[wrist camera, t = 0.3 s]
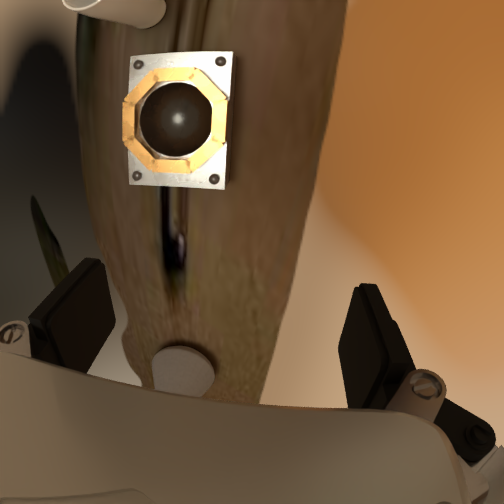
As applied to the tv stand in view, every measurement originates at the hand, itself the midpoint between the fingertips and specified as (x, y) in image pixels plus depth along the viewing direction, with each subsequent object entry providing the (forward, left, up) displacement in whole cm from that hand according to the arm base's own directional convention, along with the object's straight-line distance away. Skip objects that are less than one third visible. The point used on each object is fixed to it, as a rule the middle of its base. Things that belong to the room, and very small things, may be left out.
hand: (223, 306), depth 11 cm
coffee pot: (+41, -11, -31) cm, 52 cm away
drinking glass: (-20, -16, -31) cm, 40 cm away
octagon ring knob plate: (-5, -10, -30) cm, 32 cm away
